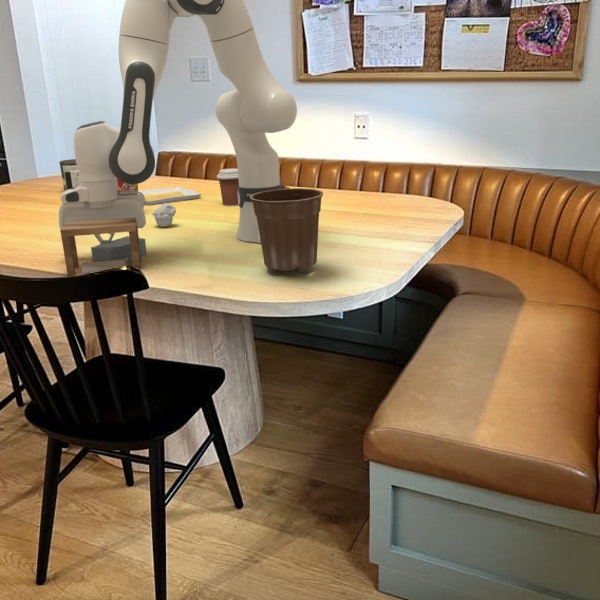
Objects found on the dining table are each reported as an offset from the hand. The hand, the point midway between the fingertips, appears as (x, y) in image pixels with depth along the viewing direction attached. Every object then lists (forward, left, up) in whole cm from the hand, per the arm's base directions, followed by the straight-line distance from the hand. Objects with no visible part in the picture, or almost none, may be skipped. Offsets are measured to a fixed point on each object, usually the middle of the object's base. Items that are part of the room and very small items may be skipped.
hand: (106, 247), depth 157 cm
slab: (-3, +3, -2) cm, 5 cm away
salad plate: (-13, -75, -3) cm, 76 cm away
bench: (0, +10, -2) cm, 11 cm away
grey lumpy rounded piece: (-14, -30, -3) cm, 33 cm away
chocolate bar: (+8, -30, -3) cm, 31 cm away
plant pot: (-42, +21, -3) cm, 47 cm away
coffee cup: (-36, -57, -3) cm, 67 cm away
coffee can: (+19, -95, -3) cm, 97 cm away
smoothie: (-2, -50, -3) cm, 50 cm away
